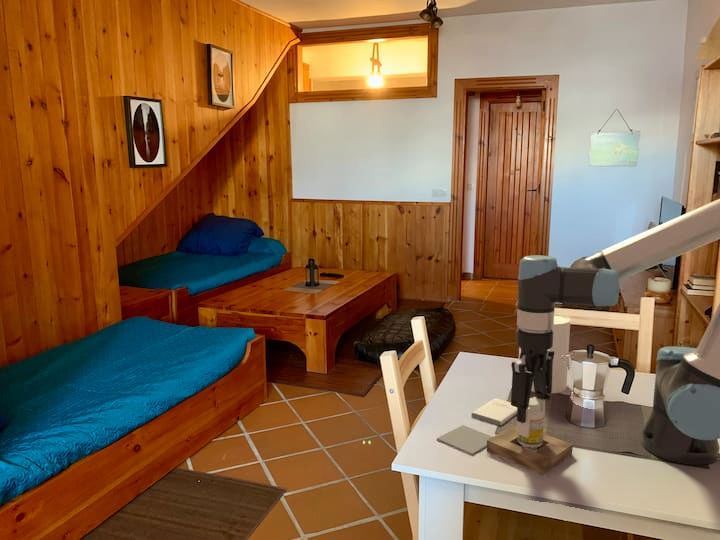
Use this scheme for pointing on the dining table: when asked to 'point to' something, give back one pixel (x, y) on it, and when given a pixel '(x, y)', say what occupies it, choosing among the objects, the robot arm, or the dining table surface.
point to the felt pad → (465, 439)
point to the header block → (538, 461)
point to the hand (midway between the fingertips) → (530, 430)
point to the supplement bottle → (534, 426)
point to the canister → (558, 353)
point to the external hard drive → (496, 411)
